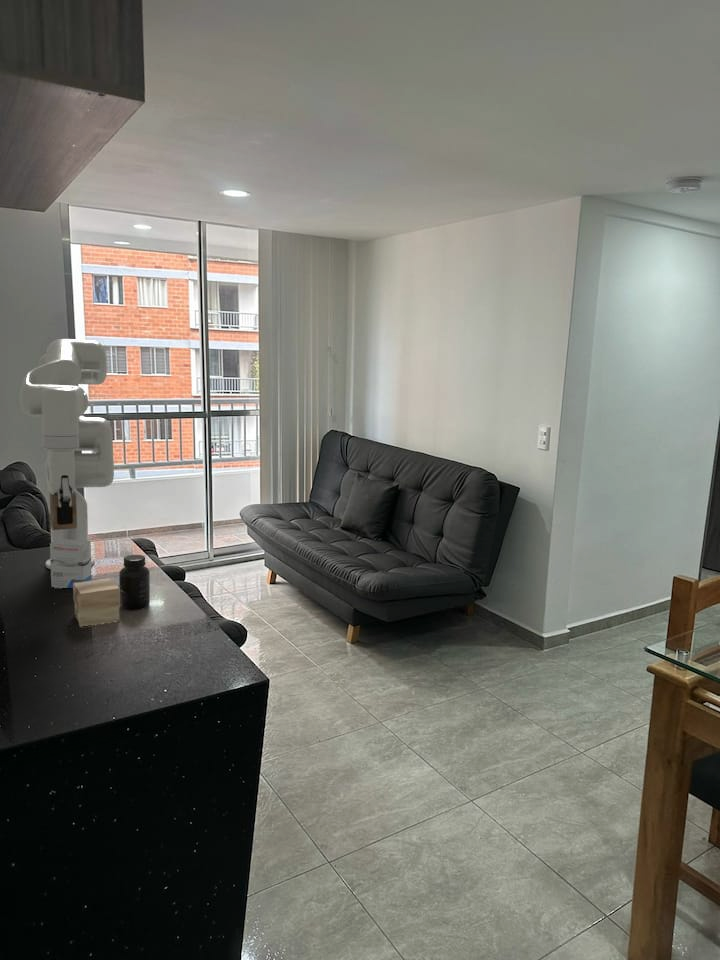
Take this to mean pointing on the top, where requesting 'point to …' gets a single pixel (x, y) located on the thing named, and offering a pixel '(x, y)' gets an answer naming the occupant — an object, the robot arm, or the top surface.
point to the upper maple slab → (95, 594)
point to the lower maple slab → (97, 615)
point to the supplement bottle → (134, 583)
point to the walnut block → (54, 512)
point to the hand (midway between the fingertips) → (63, 520)
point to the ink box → (70, 562)
